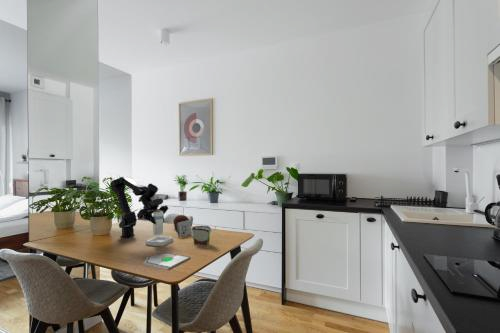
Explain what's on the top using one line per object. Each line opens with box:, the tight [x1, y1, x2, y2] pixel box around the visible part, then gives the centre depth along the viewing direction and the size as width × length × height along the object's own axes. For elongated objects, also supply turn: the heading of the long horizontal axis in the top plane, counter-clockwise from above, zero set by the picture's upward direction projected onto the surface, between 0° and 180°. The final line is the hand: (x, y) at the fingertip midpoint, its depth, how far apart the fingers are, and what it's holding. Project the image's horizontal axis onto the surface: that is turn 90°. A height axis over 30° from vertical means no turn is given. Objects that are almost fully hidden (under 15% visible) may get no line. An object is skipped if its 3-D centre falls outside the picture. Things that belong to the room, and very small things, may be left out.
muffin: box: [172, 214, 190, 231], centre depth 182 cm, size 12×11×10 cm
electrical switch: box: [176, 220, 192, 238], centre depth 167 cm, size 9×5×9 cm, turn 141°
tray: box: [145, 235, 174, 247], centre depth 149 cm, size 11×11×2 cm
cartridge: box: [152, 210, 164, 236], centre depth 148 cm, size 6×6×14 cm
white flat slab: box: [142, 252, 191, 271], centre depth 122 cm, size 17×22×2 cm
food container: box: [191, 225, 212, 247], centre depth 147 cm, size 12×6×10 cm, turn 65°
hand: (159, 222), depth 147 cm, fingers closed on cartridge, 5 cm apart
